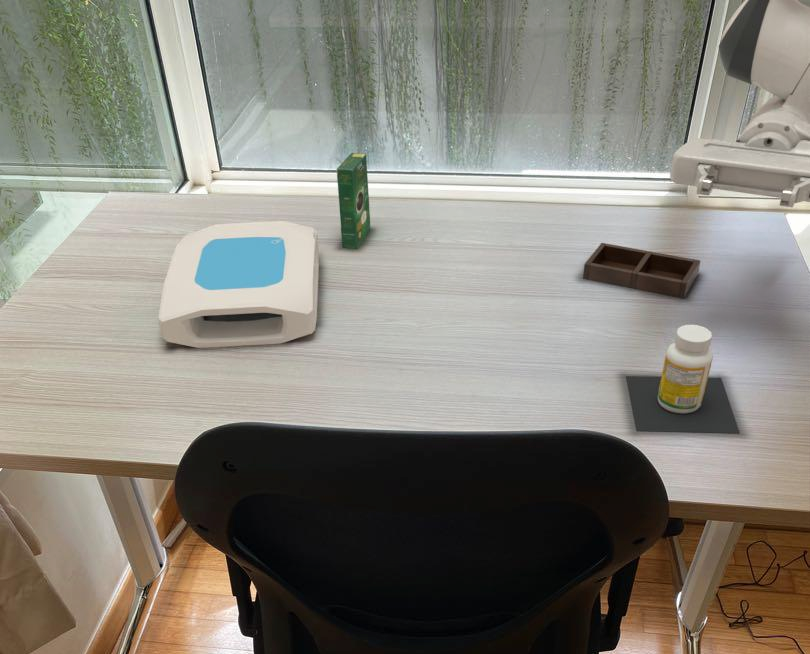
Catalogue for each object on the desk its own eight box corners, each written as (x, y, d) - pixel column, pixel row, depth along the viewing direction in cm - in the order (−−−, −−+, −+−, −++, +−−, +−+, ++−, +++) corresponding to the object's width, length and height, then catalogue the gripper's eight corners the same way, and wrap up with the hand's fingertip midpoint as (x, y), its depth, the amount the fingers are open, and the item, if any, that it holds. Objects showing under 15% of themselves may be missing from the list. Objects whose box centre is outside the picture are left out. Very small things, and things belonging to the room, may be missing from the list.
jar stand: (697, 277, 133) (700, 260, 131) (683, 301, 128) (686, 283, 126) (599, 259, 138) (601, 242, 136) (582, 281, 133) (584, 263, 131)
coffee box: (355, 230, 149) (350, 150, 140) (371, 231, 149) (367, 151, 140) (341, 250, 143) (334, 168, 135) (357, 251, 143) (352, 170, 134)
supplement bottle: (683, 420, 105) (699, 350, 99) (647, 401, 108) (660, 332, 102) (710, 403, 108) (727, 333, 101) (674, 385, 111) (689, 316, 104)
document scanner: (164, 352, 121) (154, 311, 117) (189, 262, 142) (182, 224, 138) (316, 343, 122) (311, 302, 117) (319, 255, 142) (315, 217, 138)
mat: (720, 380, 112) (721, 377, 112) (738, 436, 103) (739, 432, 103) (625, 379, 113) (625, 375, 113) (635, 434, 104) (636, 430, 104)
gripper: (690, 118, 111) (659, 154, 102) (863, 137, 104) (846, 178, 95) (682, 169, 116) (651, 207, 107) (847, 191, 108) (829, 234, 99)
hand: (744, 194), depth 101 cm, fingers open, 8 cm apart
